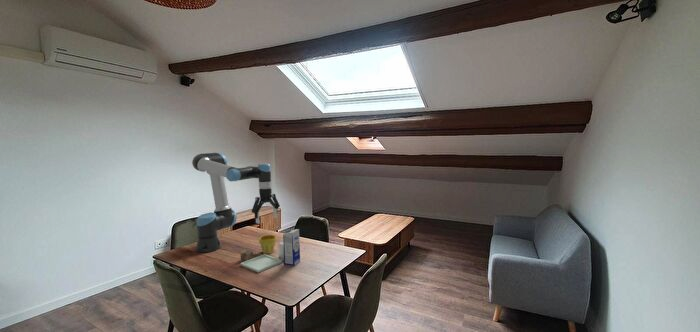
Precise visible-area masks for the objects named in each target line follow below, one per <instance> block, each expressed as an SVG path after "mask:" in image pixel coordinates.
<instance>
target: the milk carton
mask: <svg viewBox="0 0 700 332" xmlns="http://www.w3.org/2000/svg"><path fill="white" fill-rule="evenodd" d="M282 242H283V248H284V260H283V265H285V266H289V267H290V266H292V267H295V266H296V265H298V264H299V263H300V262H301V252H300V251H301V250H300V246H301V245H300V244H301V243H300V228H298V229H297V228H296V229H287V230H285V233H283V234H282Z"/></svg>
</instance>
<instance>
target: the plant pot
mask: <svg viewBox="0 0 700 332" xmlns="http://www.w3.org/2000/svg"><path fill="white" fill-rule="evenodd" d="M258 240H259V244H260V247H261V250H262V253H263V254H266V255H269V254H272V253H273V252H274V250H275V246H276V245H275V244H276V242H277V237H276V235H274V234H265V235H262V236H260V237H259V238H258Z"/></svg>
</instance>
